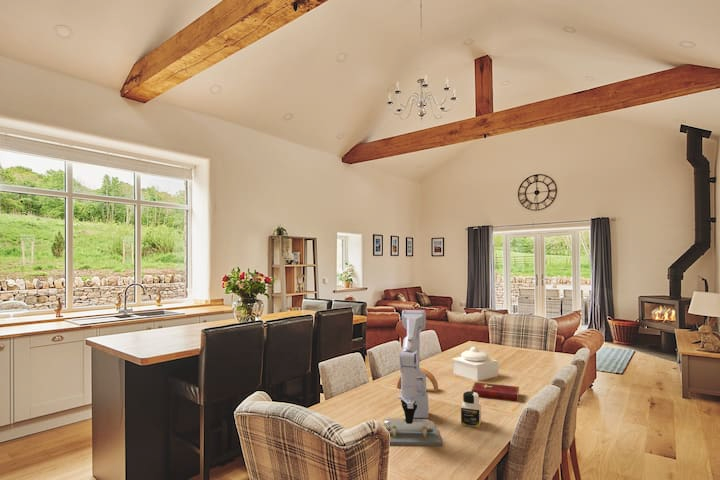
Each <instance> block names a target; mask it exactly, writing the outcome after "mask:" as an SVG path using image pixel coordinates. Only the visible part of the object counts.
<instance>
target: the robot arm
mask: <svg viewBox="0 0 720 480" xmlns="http://www.w3.org/2000/svg"><path fill="white" fill-rule="evenodd" d="M426 320H427V313H426V311H425V309H423V310H420V309H418V310H417V309H416V310H415V309H402V311H401V324H402V326H403V329H406V336H405V337H404V338H403V340H402V347H401V349H402V350H401V352H400V353H399V360H398V362H399V369H400V371H399V372H400V377H401V387H400V389H401V390H400V394H401V395H400V394H399V395H397V399H398V400H400V402H401V407H402V410H403V413H404V417H405V418H404V419H406V423H407V424H412V423H413V419H429V411H430V410H429V395H428V393H426V392H427V377H426V375H425V373H423V372H422V371H421V370H420V369H419V368H420V362H421V361H420V358H421V357H420V352H421V351H420V345H421V343H420V338H421V337H420V335H421V332H422V331H423V330H425V329H426V326H427V325H426Z"/></svg>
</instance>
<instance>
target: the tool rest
mask: <svg viewBox="0 0 720 480" xmlns="http://www.w3.org/2000/svg"><path fill="white" fill-rule="evenodd" d="M389 433H390V445H389V446H426V447H427V446H429V447H430V446H433V447H442V446H443V445H442V444H443V442H442V439H441V436H440V434H439V430H438V428H437V426H434V425H433V432H430V433H429V432H426V429H423V432H407V431H396V428H393V431H389Z"/></svg>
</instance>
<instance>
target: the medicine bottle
mask: <svg viewBox="0 0 720 480" xmlns="http://www.w3.org/2000/svg"><path fill="white" fill-rule="evenodd" d="M462 399H463V402H462V404H461V407H460V424H461V426H466V427H467V426H468V427H473V428H475V427H476V428H480V426H481V423H482V403H480V397H479V395H478V394H477V393H475V392H472V390H471V391H470V390H469V391H465V392H463V395H462Z"/></svg>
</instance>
